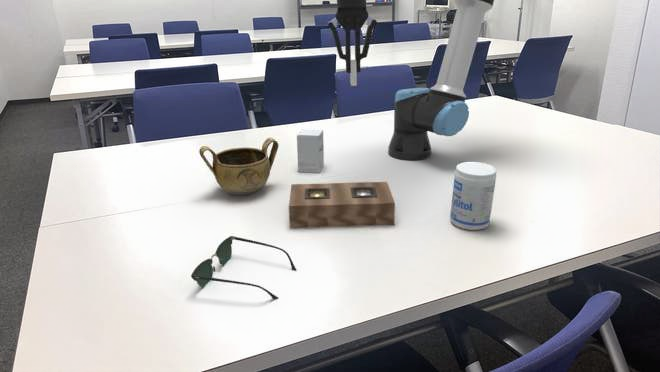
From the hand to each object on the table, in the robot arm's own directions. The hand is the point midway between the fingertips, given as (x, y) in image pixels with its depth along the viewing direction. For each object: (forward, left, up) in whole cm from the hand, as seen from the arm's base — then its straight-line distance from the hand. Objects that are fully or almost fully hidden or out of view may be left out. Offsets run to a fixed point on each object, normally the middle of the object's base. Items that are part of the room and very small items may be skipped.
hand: (353, 84), depth 130 cm
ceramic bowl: (+33, 0, -31) cm, 45 cm away
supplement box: (+13, -17, -31) cm, 37 cm away
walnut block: (+5, +18, -31) cm, 36 cm away
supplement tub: (-27, +25, -31) cm, 48 cm away
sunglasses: (+25, +47, -31) cm, 61 cm away
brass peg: (+11, +18, -30) cm, 37 cm away
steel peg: (-1, +18, -30) cm, 35 cm away
